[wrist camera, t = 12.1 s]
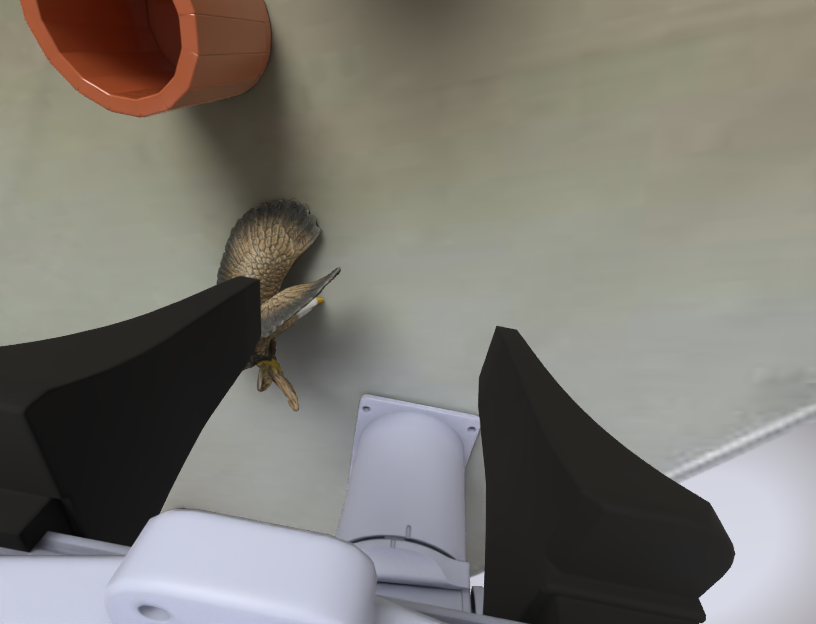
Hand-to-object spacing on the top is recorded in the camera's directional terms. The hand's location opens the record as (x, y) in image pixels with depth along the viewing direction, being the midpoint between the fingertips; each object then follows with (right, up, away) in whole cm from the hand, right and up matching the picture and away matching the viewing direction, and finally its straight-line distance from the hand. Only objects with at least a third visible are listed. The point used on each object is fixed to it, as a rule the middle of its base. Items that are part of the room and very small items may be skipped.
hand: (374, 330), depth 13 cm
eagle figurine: (-6, +2, +11) cm, 13 cm away
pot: (-7, +12, +5) cm, 15 cm away
